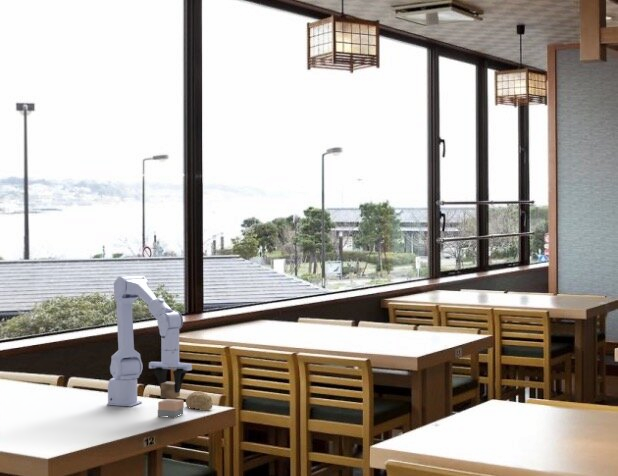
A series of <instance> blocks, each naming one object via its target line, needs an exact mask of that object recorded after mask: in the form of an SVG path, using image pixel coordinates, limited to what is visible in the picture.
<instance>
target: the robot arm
mask: <svg viewBox="0 0 618 476" xmlns="http://www.w3.org/2000/svg"><path fill="white" fill-rule="evenodd" d="M113 295H114V297H113V299H114V301H116V302H115V304H116V321H117V324H116V325H117V343H118V344H117V345H118V348H117V349H118V350H117V351H115V353H114V354H112V355H111V362H110V366H109V371H110V375H112V378H110V379H109V381H108V383H107V403H106V405H107V406H118V407H119V406H120V407H133V406H136V405H139V404H141V403H143V401H142V400H138V379H139V378H140V375H141V374H142V373H143V372H142V371H143V362H142V359H141V353H139V352H138V351H137V350H135V344H134V343H135V342H134V338H135V337H134V324H133V323H134V322H133V320H134V318H133V303H134V301H136V300H137V299H139V298H140V299H141V300H142V301H144V303H146V304H147V305H148V307H147V309H148V312H149V313H150V314H151V315H152V316H153V317H154V318H155V320H156V321H157V327H158V329H159V335H160V336H161V338H160V339H161V342H160V343H161V347H160V349H161V350H160V352H161V353H160V354H161V355H160V356H161V357H160V358H161V359H160V360H161V361H150V362H148V369H154V370H153V374H154V376H155V377H156V379H157V381H158V385H159V388H160V390H161V383H164V382H167V374H168V370H172V374H173V379H174V382H175V393H178V392H181V387H182V383H183V380H184V378H185V376H186V374H187V372H188V371H192V370H193V364H192V363H185V362H180V330H181V328H183V325H184V318H183V315H182V313H181V311H179V310H177V311H176V310H173V309H172V308H171V307H170V305H168V303H166V301H165V299H163V298H161V297H158V298H157V296H156V295H155V294H154V292H153V291H152V290H151V288H150V287H149V280H148V279H147V278H146V276H144V275H135V276H133V275H132V276H130V275H129V276H122V275H119V276H118V277H116V279H115V281H114V282H113Z"/></svg>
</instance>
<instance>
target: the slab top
mask: <svg viewBox="0 0 618 476" xmlns="http://www.w3.org/2000/svg"><path fill="white" fill-rule="evenodd" d="M184 402H185V401H184V399H176V398H173V399H172V398H164V399H162V400H160V401H158V403H157V404H158V406H157V407H158V409H157V411H158V410H168V411H177V410H179V409H182V408H183V409H184V407H185V405H184Z"/></svg>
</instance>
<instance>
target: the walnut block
mask: <svg viewBox="0 0 618 476" xmlns="http://www.w3.org/2000/svg"><path fill="white" fill-rule="evenodd" d="M180 392H181V391H180ZM180 392H178V393H175V381H170V380H169V381H167V380H166V382H164V383H161V389H160V398H161V399H176V398H178V397H180V394H181V393H180Z"/></svg>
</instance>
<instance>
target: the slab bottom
mask: <svg viewBox="0 0 618 476" xmlns="http://www.w3.org/2000/svg"><path fill="white" fill-rule="evenodd" d="M180 414H183V415H184V408H182V409H179V410H177V411H168V410H158V409H157V417H158V416H168V417H167V418H169V417H176V416H178V415H180ZM180 416H181V415H180ZM178 417H179V416H178ZM176 418H177V417H176Z"/></svg>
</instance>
